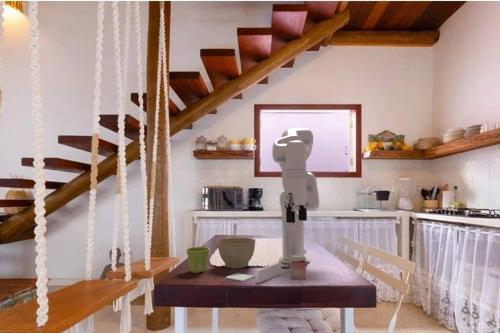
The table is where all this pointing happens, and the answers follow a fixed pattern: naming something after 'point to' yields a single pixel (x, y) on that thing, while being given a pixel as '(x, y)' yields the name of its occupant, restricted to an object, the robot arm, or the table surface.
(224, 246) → the planter bowl
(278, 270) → the low wall
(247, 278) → the pad
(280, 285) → the table surface
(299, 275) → the small box
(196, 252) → the plant pot
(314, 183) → the robot arm
